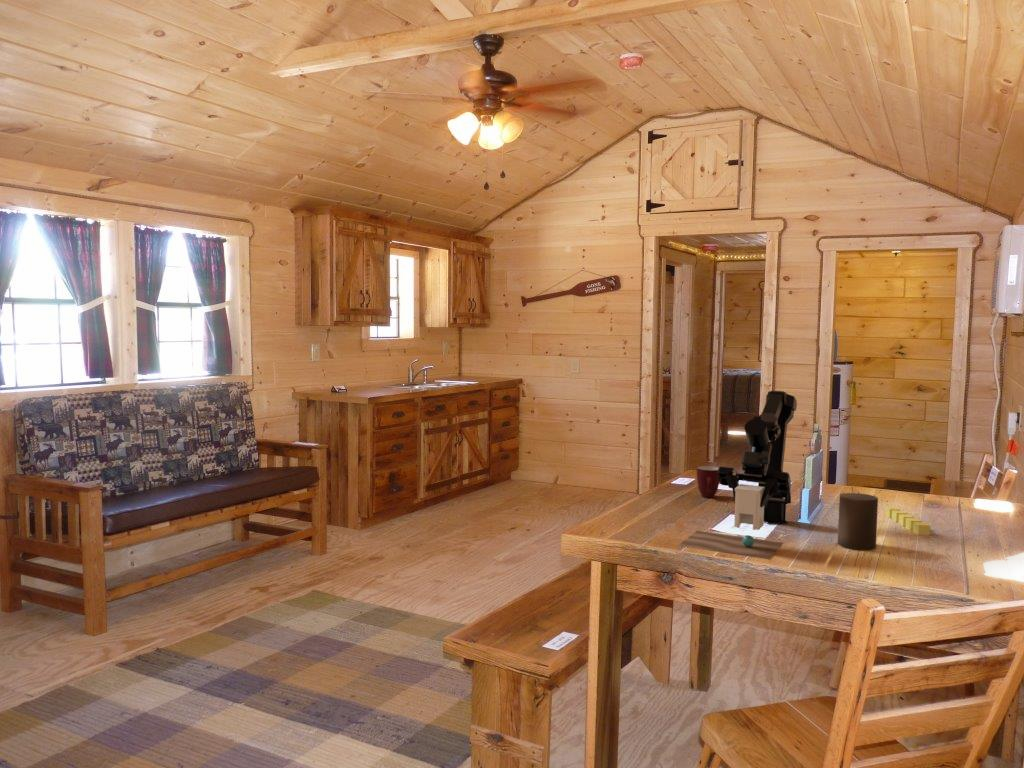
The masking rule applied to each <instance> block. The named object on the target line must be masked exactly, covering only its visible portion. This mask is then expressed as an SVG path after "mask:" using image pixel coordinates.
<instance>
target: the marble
mask: <svg viewBox="0 0 1024 768" xmlns="http://www.w3.org/2000/svg"><path fill="white" fill-rule="evenodd" d="M742 537H743V540H742V542H743V544H744V545H745V546H747V547H750V546H752V545H753V544H754V539H755V538H754V537H753V536H751V535H744V536H742Z"/></svg>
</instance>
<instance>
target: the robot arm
mask: <svg viewBox="0 0 1024 768" xmlns="http://www.w3.org/2000/svg"><path fill="white" fill-rule="evenodd" d="M765 397H766V398H765V404H764V407H763V410H762V413H761V414H758V415H757V416H756V415H755V416H754V417H753V418H752V419H750V420H748V421H747V422H746V423H745V424H744V430H745V431H744V432H745V436H746V440H747V444H748V446H749V448H748V451H746V450H743V451H742V455H741V464H742V466H741V469H742V471H743V472H738V471H737V470H735V468H734V466H723V465H721V466H720V467H717V468H718V472H717V475H718V478H719V484H720V485H721V486H725V487H726V486H728V488H729V489H732V494H733V495H732V496H733V502H734V504H735V488H736V487H737V486H739V485H740V484H739V482H740V481H744V482H749V483H758V484H757V486H763V487H765V489H764V492H763V495H762V498H761V504H760V506H761V507H763V506H764V521H766V522H768V523H767V524H769V523H777V524H788V523H789V521H788V520H786V515H787V512H786V511H787V509H786V508H787V505H788V504H789V505H790V504H791V503H792V495H791V487H792V481H791V480H792V479H791V476H790V473H789V472H787V471H784V462H785V461H784V460H785V451H786V440H787V430H788V425H789V423H790V422H791V420H793V418H794V416H795V415H794V414H795V411H797V405H798V403H797V399H796V397H795V396H794V395H791V394H788V393H787V392H786V391H783V390H768V392H767V394H766V396H765ZM766 522H765V523H766ZM787 522H788V523H787Z"/></svg>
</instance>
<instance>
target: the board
mask: <svg viewBox="0 0 1024 768" xmlns="http://www.w3.org/2000/svg"><path fill="white" fill-rule="evenodd" d="M743 537H744V536H739V535H729V534H723V533H716V532H709V531H708V532H707V531H701V530H696V531H695V532H693V533H692V534H691V535H689V536H688V537H687V538H686V539H684V540H683V541H682V542H681V543H679V544H678V545H677V546H678V547H683V548H688V549H689V548H691V549H697V550H702V551H703V550H704V551H710V552H715V553H716V552H717V553H724V554H729V555H730V554H731V555H737V556H744V557H750V558H758V559H763V560H772V558H773V556H774V555H775V554H776V553H777V552H778V550H779V549H780V548H781V547H782V546H783V544H784V542H780V541H773V540H768V539H767V540H766V539H760V538H753V539H754V544H753V545H752V546H750V547H747V546H745V545H744V544H743V542H742V540H743Z"/></svg>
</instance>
